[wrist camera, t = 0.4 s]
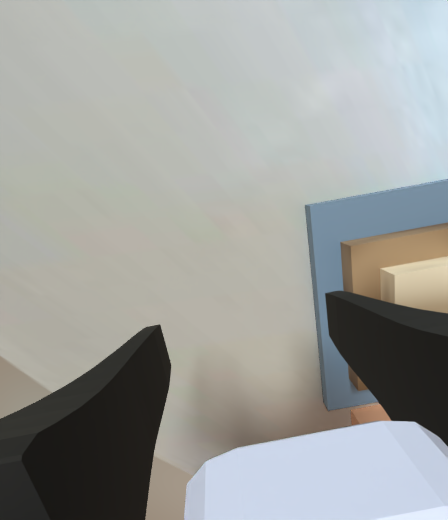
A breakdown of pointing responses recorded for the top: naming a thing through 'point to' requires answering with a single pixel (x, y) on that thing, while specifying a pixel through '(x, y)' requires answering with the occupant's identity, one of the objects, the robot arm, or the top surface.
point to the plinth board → (328, 261)
